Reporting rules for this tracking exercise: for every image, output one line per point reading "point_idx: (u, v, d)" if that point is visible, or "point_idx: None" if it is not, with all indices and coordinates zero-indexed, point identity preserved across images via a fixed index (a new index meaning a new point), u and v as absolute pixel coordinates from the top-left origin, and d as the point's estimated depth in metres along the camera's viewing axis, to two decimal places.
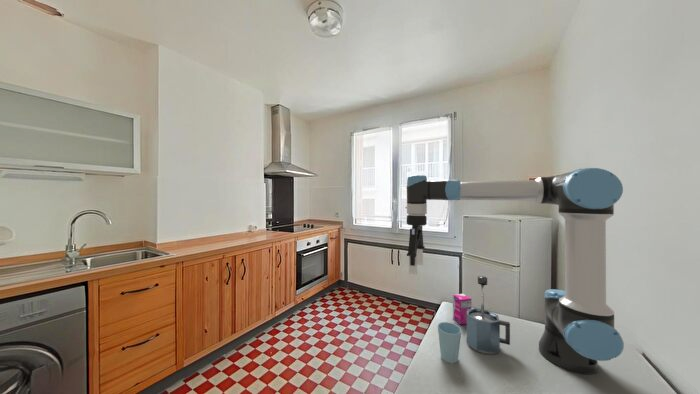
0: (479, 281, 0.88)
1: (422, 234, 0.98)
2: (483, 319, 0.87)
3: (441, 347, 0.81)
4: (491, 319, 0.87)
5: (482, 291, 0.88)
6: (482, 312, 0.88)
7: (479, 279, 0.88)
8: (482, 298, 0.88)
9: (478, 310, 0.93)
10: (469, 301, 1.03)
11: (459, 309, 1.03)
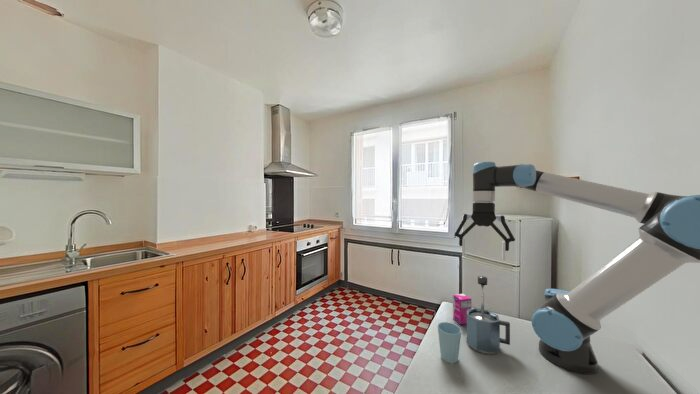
0: (479, 281, 0.88)
1: (506, 226, 0.86)
2: (483, 319, 0.87)
3: (441, 347, 0.81)
4: (491, 319, 0.87)
5: (482, 291, 0.88)
6: (482, 312, 0.88)
7: (479, 279, 0.88)
8: (482, 298, 0.88)
9: (478, 310, 0.93)
10: (469, 301, 1.03)
11: (459, 309, 1.03)
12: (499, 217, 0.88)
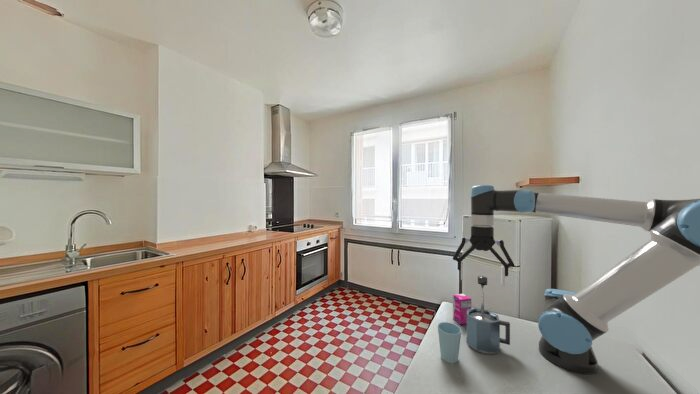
0: (479, 281, 0.88)
1: (505, 251, 0.85)
2: (483, 319, 0.87)
3: (441, 347, 0.81)
4: (491, 319, 0.87)
5: (482, 291, 0.88)
6: (482, 312, 0.88)
7: (479, 279, 0.88)
8: (482, 298, 0.88)
9: (478, 310, 0.93)
10: (469, 301, 1.03)
11: (459, 309, 1.03)
12: (498, 242, 0.86)
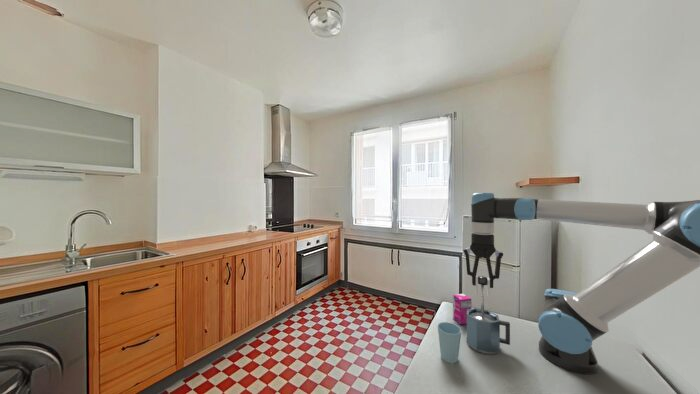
0: (479, 281, 0.88)
1: (499, 263, 0.85)
2: (483, 319, 0.87)
3: (441, 347, 0.81)
4: (491, 319, 0.87)
5: (482, 291, 0.88)
6: (482, 312, 0.88)
7: (479, 279, 0.88)
8: (482, 298, 0.88)
9: (478, 310, 0.93)
10: (469, 301, 1.03)
11: (459, 309, 1.03)
12: (498, 252, 0.86)
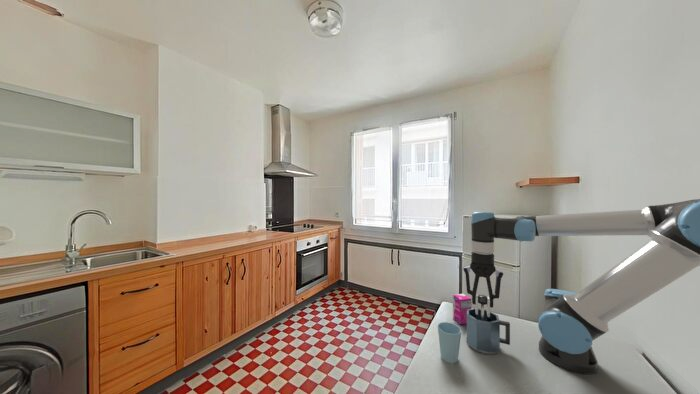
0: (478, 300, 0.88)
1: (499, 283, 0.85)
2: None
3: (441, 347, 0.81)
4: None
5: (482, 310, 0.88)
6: None
7: (479, 298, 0.88)
8: (482, 317, 0.88)
9: (478, 310, 0.93)
10: (469, 301, 1.03)
11: (459, 309, 1.03)
12: (498, 272, 0.86)
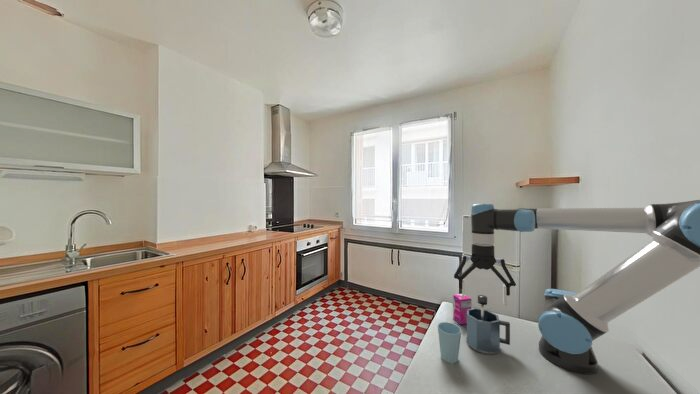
0: (478, 300, 0.88)
1: (507, 270, 0.84)
2: None
3: (441, 347, 0.81)
4: None
5: (482, 310, 0.88)
6: None
7: (479, 298, 0.88)
8: (482, 317, 0.88)
9: (478, 310, 0.93)
10: (469, 301, 1.03)
11: (459, 309, 1.03)
12: (499, 260, 0.86)
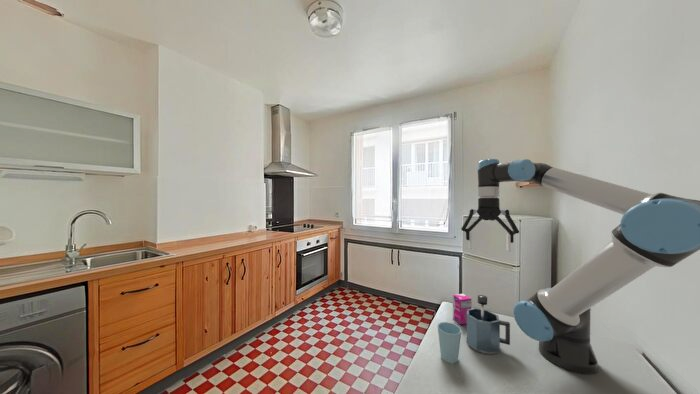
0: (478, 300, 0.88)
1: (511, 219, 0.91)
2: None
3: (441, 347, 0.81)
4: None
5: (482, 310, 0.88)
6: None
7: (479, 298, 0.88)
8: (482, 317, 0.88)
9: (478, 310, 0.93)
10: (469, 301, 1.03)
11: (459, 309, 1.03)
12: (503, 211, 0.93)
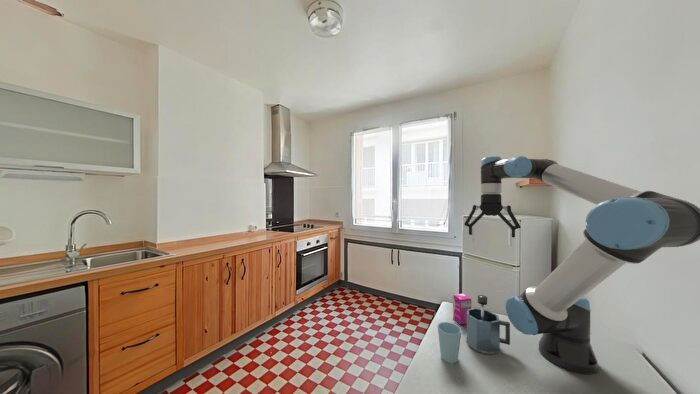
0: (478, 300, 0.88)
1: (512, 214, 0.94)
2: None
3: (441, 347, 0.81)
4: None
5: (482, 310, 0.88)
6: None
7: (479, 298, 0.88)
8: (482, 317, 0.88)
9: (478, 310, 0.93)
10: (469, 301, 1.03)
11: (459, 309, 1.03)
12: (505, 207, 0.96)
